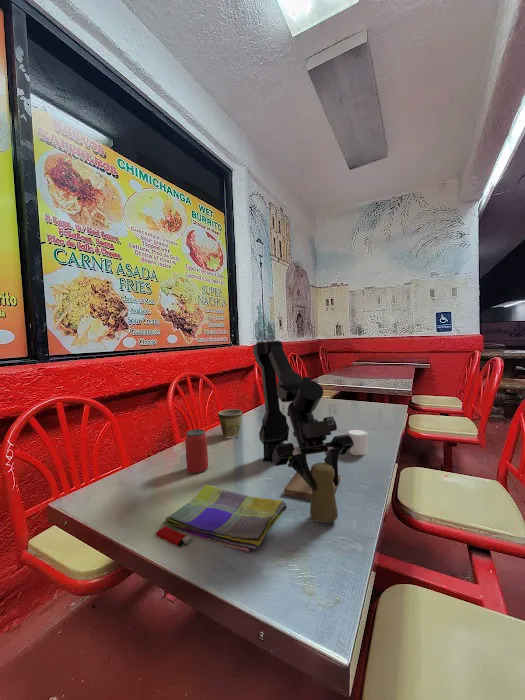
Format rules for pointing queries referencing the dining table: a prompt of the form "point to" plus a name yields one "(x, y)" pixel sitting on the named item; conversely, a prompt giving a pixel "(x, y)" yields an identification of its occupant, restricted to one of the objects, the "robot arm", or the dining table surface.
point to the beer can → (196, 451)
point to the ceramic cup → (230, 422)
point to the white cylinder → (358, 441)
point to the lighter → (173, 536)
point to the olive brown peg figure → (323, 493)
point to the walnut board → (301, 487)
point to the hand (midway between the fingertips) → (325, 487)
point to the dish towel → (227, 518)
